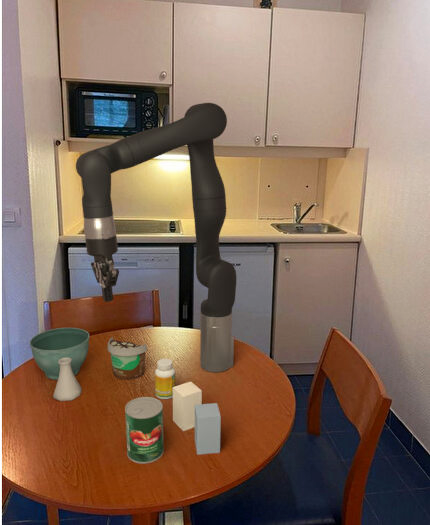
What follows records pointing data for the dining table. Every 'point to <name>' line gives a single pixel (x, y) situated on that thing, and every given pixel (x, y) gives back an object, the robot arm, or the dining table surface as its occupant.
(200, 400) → the cream block
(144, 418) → the canned tomato
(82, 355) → the flower pot
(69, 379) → the flask
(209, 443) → the slate-blue block
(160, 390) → the supplement bottle
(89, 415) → the dining table surface
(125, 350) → the food container
